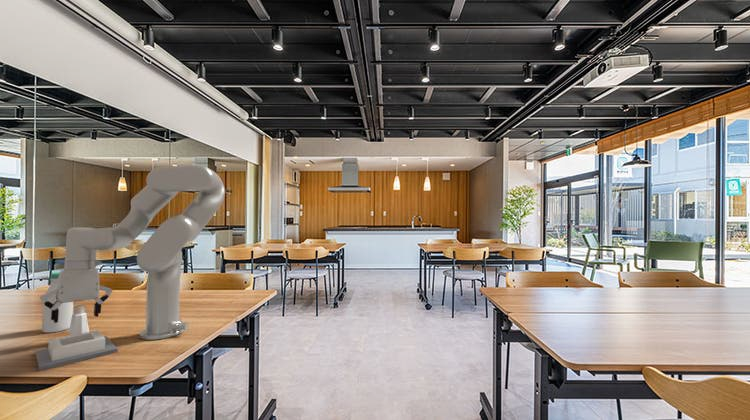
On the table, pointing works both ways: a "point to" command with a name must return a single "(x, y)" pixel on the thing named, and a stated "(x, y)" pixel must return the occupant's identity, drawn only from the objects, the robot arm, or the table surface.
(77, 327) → the salt shaker
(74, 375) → the table surface
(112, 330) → the table surface
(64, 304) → the milk bottle
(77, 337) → the socket
